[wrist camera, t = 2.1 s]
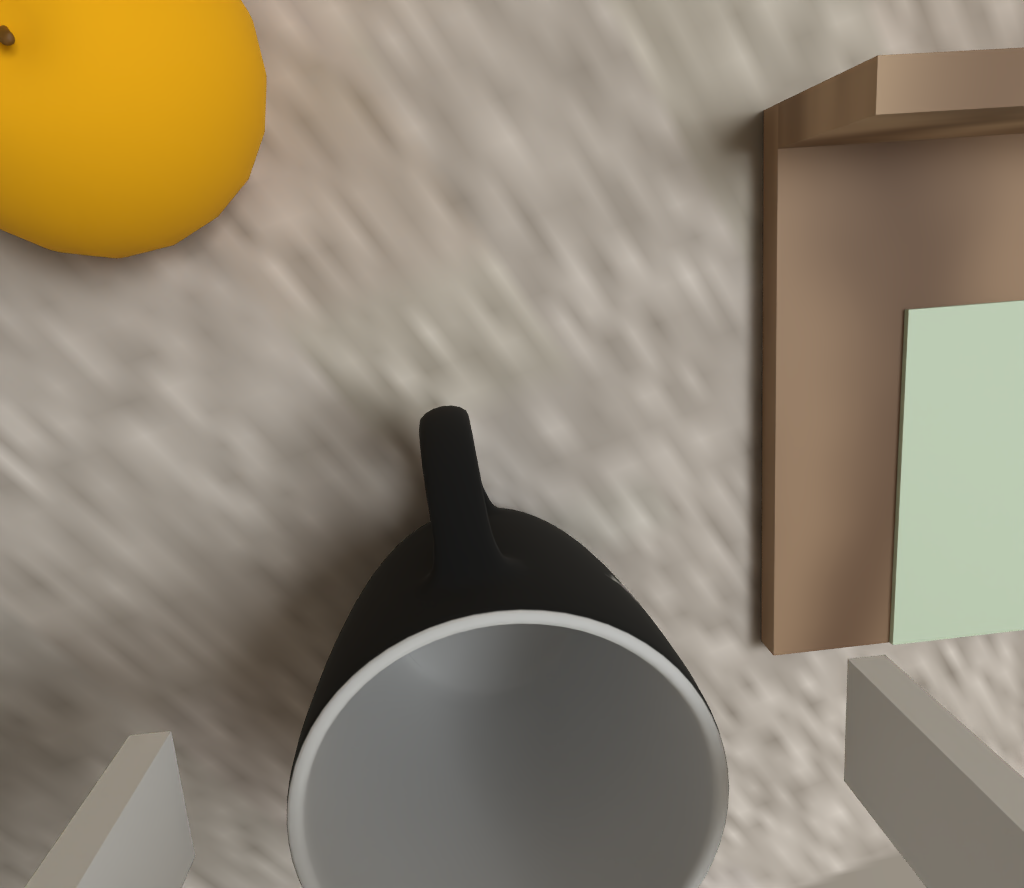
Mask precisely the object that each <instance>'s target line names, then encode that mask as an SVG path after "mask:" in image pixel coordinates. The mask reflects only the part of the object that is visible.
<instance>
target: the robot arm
mask: <svg viewBox="0 0 1024 888" xmlns="http://www.w3.org/2000/svg"><path fill="white" fill-rule="evenodd" d="M844 781H845V782H846V784H847V785H848V786H849V788H850V789H851V790H852V791H853V793H854V794H855V795H856V797H857V798H858V799H859V801H860V802H861V803H862V804H863V806H864V807H865V808H866V810H867V811H868V812H869V814H870V815H871V816H872V817H873V819H874V820H875V821H876V823H877V824H878V825H879V827H880V828H881V829H882V830H883V832H884V833H885V834H886V836H887V837H888V838H889V840H890V841H891V842H892V843H893V845H894V846H895V847H896V849H897V850H898V851H899V853H900V854H901V855H902V856H903V858H904V859H905V860H906V862H907V863H908V864H909V866H910V867H911V868H912V869H913V871H914V872H915V873H916V875H917V876H918V877H919V879H920V880H921V881H922V882H923V884H924V885H925V886H926V887H927V888H1024V778H1023V777H1022V776H1021V775H1020V774H1019V773H1017V772H1016V771H1015V770H1014V769H1013V768H1012V767H1011V766H1010V765H1008V764H1007V763H1006V762H1005V761H1004V760H1003V759H1002V758H1001V757H999V756H998V755H997V754H996V753H995V752H994V751H993V750H992V749H990V748H989V747H988V746H987V745H986V744H985V743H984V742H983V741H981V740H980V739H979V738H978V737H977V736H976V735H975V734H974V733H972V732H971V731H970V730H969V729H968V728H967V727H966V726H965V725H963V724H962V723H961V722H960V721H959V720H958V719H957V718H956V717H954V716H953V715H952V714H951V713H950V712H949V711H948V710H946V709H945V708H944V707H943V706H942V705H941V704H940V703H939V702H937V701H936V700H935V699H934V698H933V697H932V696H931V695H930V694H928V693H927V692H926V691H925V690H924V689H923V688H922V687H921V686H919V685H918V684H917V683H916V682H915V681H914V680H913V679H912V678H910V677H909V676H908V675H907V674H906V673H905V672H904V671H903V670H901V669H900V668H899V667H898V666H897V665H896V664H895V663H894V662H892V661H891V660H890V659H889V658H888V657H887V656H886V655H881V656H871V657H862V658H853V659H848V671H847V703H846V735H845V767H844ZM194 858H195V851H194V846H193V841H192V836H191V831H190V826H189V820H188V815H187V810H186V805H185V800H184V794H183V789H182V784H181V779H180V774H179V769H178V763H177V758H176V753H175V748H174V743H173V737H172V732H171V731H166V732H156V733H147V734H137V735H129V737H128V738H127V740H126V741H125V743H124V744H123V745H122V747H121V748H120V750H119V751H118V753H117V754H116V756H115V757H114V759H113V760H112V761H111V763H110V764H109V766H108V767H107V769H106V770H105V772H104V773H103V775H102V776H101V777H100V779H99V780H98V782H97V783H96V785H95V786H94V788H93V789H92V790H91V792H90V793H89V795H88V796H87V798H86V799H85V801H84V802H83V804H82V805H81V806H80V808H79V809H78V811H77V812H76V814H75V815H74V817H73V818H72V819H71V821H70V822H69V824H68V825H67V827H66V828H65V830H64V831H63V833H62V834H61V835H60V837H59V838H58V840H57V841H56V843H55V844H54V846H53V847H52V849H51V850H50V851H49V853H48V854H47V856H46V857H45V859H44V860H43V862H42V863H41V864H40V866H39V867H38V869H37V870H36V872H35V873H34V875H33V876H32V878H31V879H30V880H29V882H28V883H27V885H26V886H25V888H181V887H182V885H183V883H184V880H185V878H186V876H187V874H188V871H189V869H190V867H191V864H192V862H193V860H194Z"/></svg>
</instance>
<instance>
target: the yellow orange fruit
mask: <svg viewBox="0 0 1024 888" xmlns="http://www.w3.org/2000/svg"><path fill="white" fill-rule="evenodd" d="M265 109H266V72H265V68H264V64H263V60H262V56H261V52H260V48H259V44H258V40H257V36H256V32H255V28H254V24H253V20H252V18H251V16H250V14H249V12H248V11H247V9H246V7H245V6H244V4H243V3H242V1H241V0H0V229H1V230H3V231H5V232H8V233H10V234H13V235H15V236H17V237H20V238H22V239H25V240H27V241H30V242H32V243H34V244H37V245H39V246H42V247H44V248H47V249H49V250H53V251H57V252H61V253H71V254H80V255H89V256H98V257H108V258H123V257H129V256H133V255H136V254H140V253H144V252H148V251H152V250H156V249H160V248H164V247H168V246H172V245H175V244H176V243H178V242H180V241H181V240H183V239H184V238H186V237H187V236H189V235H190V234H192V233H193V232H195V231H197V230H198V229H200V228H201V227H203V226H204V225H206V224H207V223H209V222H210V221H212V220H214V219H215V218H216V217H218V216H219V215H220V213H221V212H222V211H223V210H224V209H225V207H226V206H227V205H228V204H229V202H230V201H231V200H232V199H233V198H234V196H235V195H236V194H237V193H238V191H239V190H240V189H241V188H242V186H243V185H244V184H245V183H246V182H247V180H248V179H249V176H250V173H251V170H252V167H253V165H254V162H255V159H256V156H257V153H258V150H259V147H260V144H261V141H262V138H263V135H264V132H265Z"/></svg>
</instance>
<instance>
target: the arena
mask: <svg viewBox="0 0 1024 888" xmlns="http://www.w3.org/2000/svg"><path fill="white" fill-rule="evenodd" d="M1016 300H1024V48H1008V49H989V50H970V51H952V52H933V53H915V54H896V55H878V56H876V57H874V58H872V59H870V60H868V61H865V62H863V63H861V64H859V65H857V66H855V67H853V68H851V69H849V70H847V71H845V72H843V73H841V74H838V75H836V76H834V77H832V78H830V79H828V80H826V81H824V82H822V83H820V84H818V85H816V86H814V87H811V88H809V89H807V90H805V91H803V92H801V93H799V94H797V95H795V96H793V97H791V98H789V99H787V100H784V101H782V102H780V103H778V104H776V105H774V106H772V107H770V108H768V109H766V110H764V144H763V372H762V601H761V641H762V643H763V644H764V645H765V646H766V647H767V648H768V649H769V651H770V652H771V653H772V654H773V655H782V654H791V653H799V652H808V651H817V650H825V649H834V648H843V647H852V646H860V645H869V644H878V643H886V642H889V641H890V620H891V598H892V576H893V555H894V533H895V512H896V490H897V468H898V447H899V425H900V404H901V382H902V360H903V339H904V317H905V309H917V308H929V307H941V306H954V305H966V304H979V303H991V302H1004V301H1016Z"/></svg>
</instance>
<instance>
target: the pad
mask: <svg viewBox="0 0 1024 888" xmlns="http://www.w3.org/2000/svg"><path fill="white" fill-rule="evenodd" d="M1019 630H1024V300H1016V301H1004V302H991V303H979V304H966V305H954V306H941V307H929V308H917V309H905V317H904V339H903V360H902V382H901V404H900V425H899V447H898V468H897V490H896V512H895V533H894V555H893V576H892V598H891V620H890V641H889V642H890V643H891V644H892V645H897V644H906V643H915V642H923V641H932V640H941V639H949V638H958V637H967V636H975V635H984V634H993V633H1002V632H1010V631H1019Z"/></svg>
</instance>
